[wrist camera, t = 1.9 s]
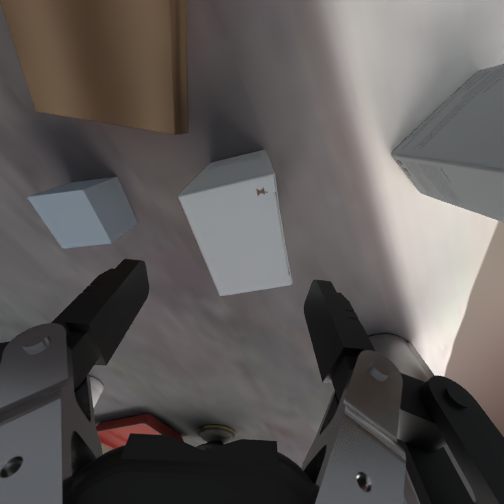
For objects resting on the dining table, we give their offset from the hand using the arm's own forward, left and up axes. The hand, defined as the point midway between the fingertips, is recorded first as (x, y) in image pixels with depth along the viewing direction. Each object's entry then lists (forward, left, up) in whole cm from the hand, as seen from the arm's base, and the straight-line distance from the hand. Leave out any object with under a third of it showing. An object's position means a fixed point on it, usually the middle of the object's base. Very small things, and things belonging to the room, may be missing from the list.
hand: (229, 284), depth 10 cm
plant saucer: (+19, +65, -15) cm, 69 cm away
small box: (0, 0, -14) cm, 14 cm away
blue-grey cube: (+15, +3, -14) cm, 20 cm away
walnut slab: (+11, -11, -14) cm, 21 cm away
